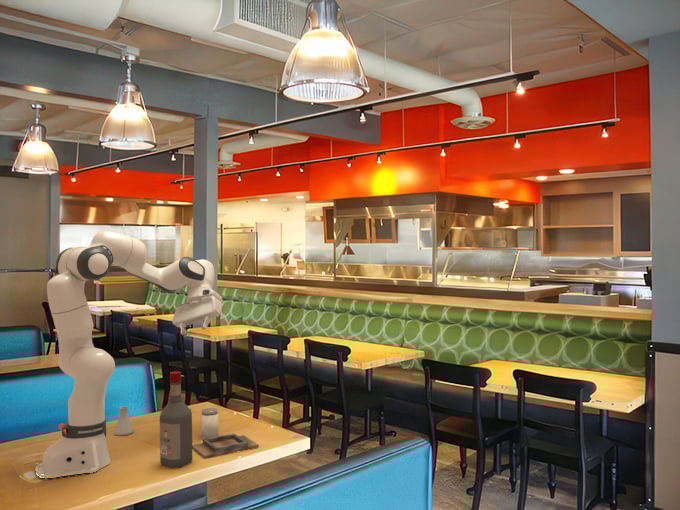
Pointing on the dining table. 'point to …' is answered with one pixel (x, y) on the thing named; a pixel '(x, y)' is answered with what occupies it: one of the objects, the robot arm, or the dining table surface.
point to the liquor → (175, 428)
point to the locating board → (223, 445)
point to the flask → (123, 423)
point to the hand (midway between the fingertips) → (193, 331)
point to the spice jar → (209, 423)
